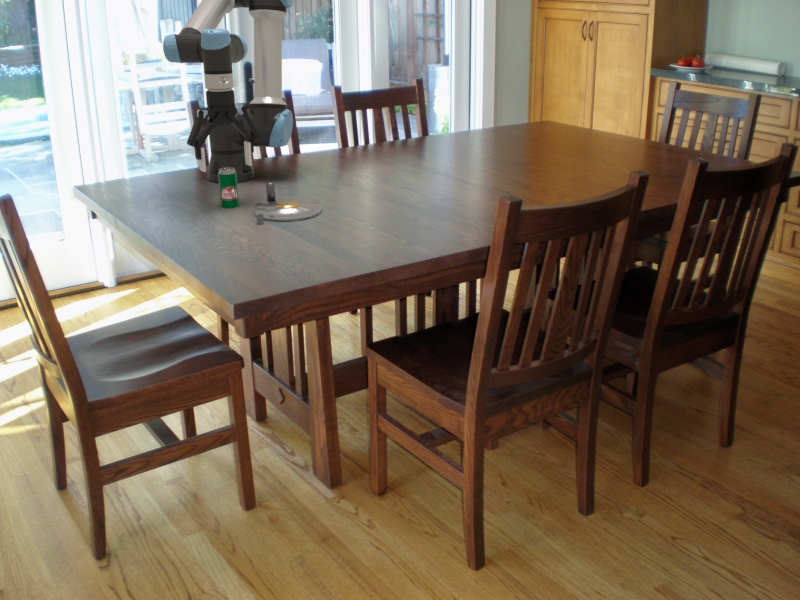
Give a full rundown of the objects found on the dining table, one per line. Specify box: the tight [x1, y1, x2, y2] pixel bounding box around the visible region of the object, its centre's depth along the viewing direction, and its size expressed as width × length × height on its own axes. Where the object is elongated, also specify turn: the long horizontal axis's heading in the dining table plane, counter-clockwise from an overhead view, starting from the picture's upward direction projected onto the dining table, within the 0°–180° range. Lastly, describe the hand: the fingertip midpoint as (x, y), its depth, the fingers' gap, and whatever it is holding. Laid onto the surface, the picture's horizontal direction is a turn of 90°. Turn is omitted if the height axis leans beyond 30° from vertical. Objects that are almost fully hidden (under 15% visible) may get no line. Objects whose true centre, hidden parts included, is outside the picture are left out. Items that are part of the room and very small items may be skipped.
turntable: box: [254, 181, 322, 222], centre depth 225 cm, size 18×18×7 cm
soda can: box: [218, 167, 240, 209], centre depth 231 cm, size 5×5×12 cm
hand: (226, 168), depth 229 cm, fingers open, 13 cm apart
